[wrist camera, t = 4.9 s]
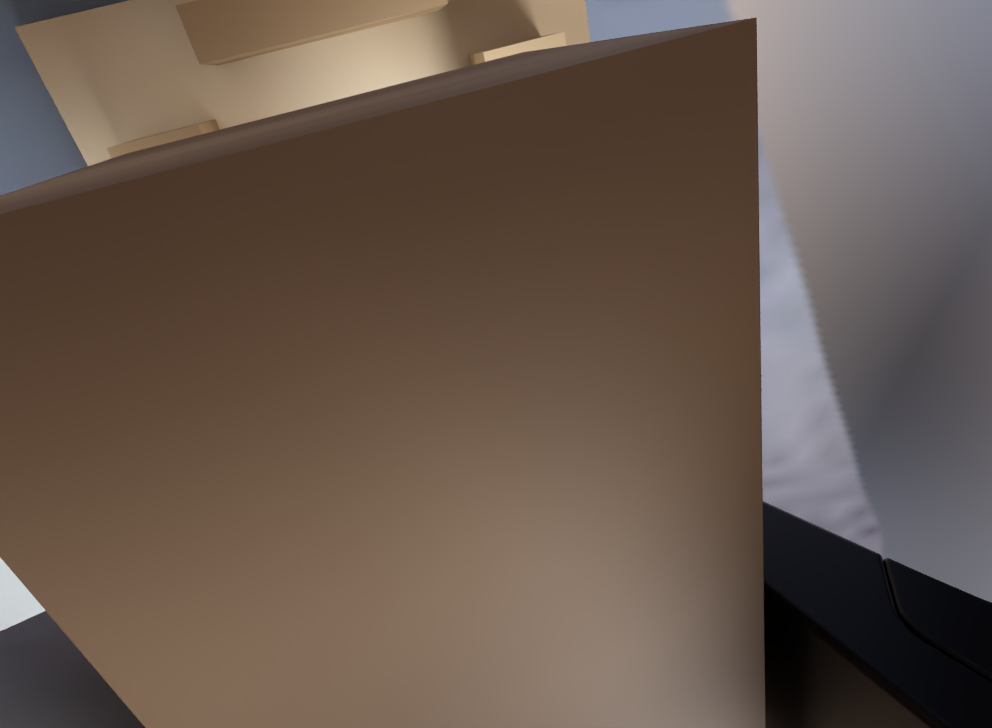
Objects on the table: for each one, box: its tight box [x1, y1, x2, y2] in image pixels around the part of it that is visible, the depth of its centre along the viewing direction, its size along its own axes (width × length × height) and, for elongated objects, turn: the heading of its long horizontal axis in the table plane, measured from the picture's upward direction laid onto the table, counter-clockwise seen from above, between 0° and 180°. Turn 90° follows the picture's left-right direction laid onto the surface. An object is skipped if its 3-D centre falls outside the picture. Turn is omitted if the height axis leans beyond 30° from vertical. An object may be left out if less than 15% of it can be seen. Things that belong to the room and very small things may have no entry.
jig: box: [14, 0, 591, 166], centre depth 16 cm, size 16×12×3 cm
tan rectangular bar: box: [0, 18, 765, 728], centre depth 7 cm, size 11×4×4 cm, turn 13°
